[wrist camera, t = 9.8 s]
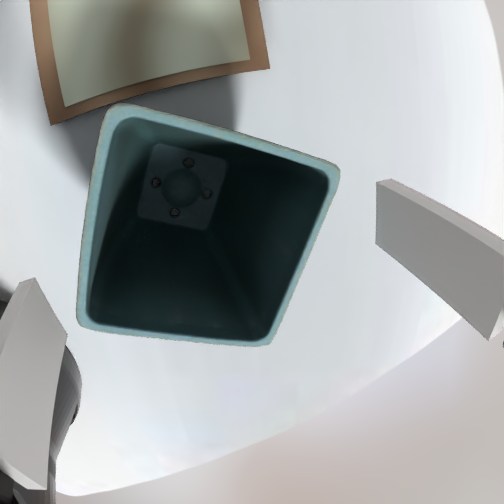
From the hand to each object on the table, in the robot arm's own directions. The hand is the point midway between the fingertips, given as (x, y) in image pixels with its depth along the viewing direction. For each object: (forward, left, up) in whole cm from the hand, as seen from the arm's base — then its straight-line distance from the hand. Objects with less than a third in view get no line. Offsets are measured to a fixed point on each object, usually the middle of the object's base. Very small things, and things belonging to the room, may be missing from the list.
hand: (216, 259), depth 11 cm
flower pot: (0, 0, -10) cm, 10 cm away
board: (0, +23, -10) cm, 25 cm away
